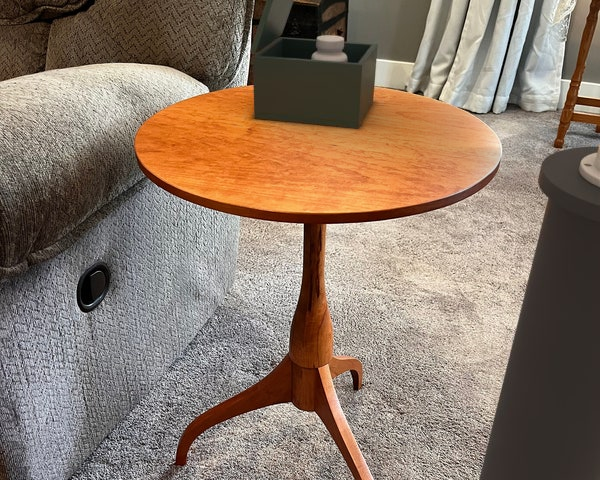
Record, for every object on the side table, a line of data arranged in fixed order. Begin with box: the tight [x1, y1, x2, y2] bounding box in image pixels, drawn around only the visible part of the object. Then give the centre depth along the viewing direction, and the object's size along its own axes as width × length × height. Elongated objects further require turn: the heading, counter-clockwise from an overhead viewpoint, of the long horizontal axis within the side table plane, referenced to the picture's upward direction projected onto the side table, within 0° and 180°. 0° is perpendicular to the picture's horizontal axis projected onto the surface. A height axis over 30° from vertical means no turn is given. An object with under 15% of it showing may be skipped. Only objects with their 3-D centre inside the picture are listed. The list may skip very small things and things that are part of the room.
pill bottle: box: [311, 34, 348, 62], centre depth 96 cm, size 5×5×10 cm
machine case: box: [252, 36, 379, 129], centre depth 97 cm, size 16×14×9 cm
